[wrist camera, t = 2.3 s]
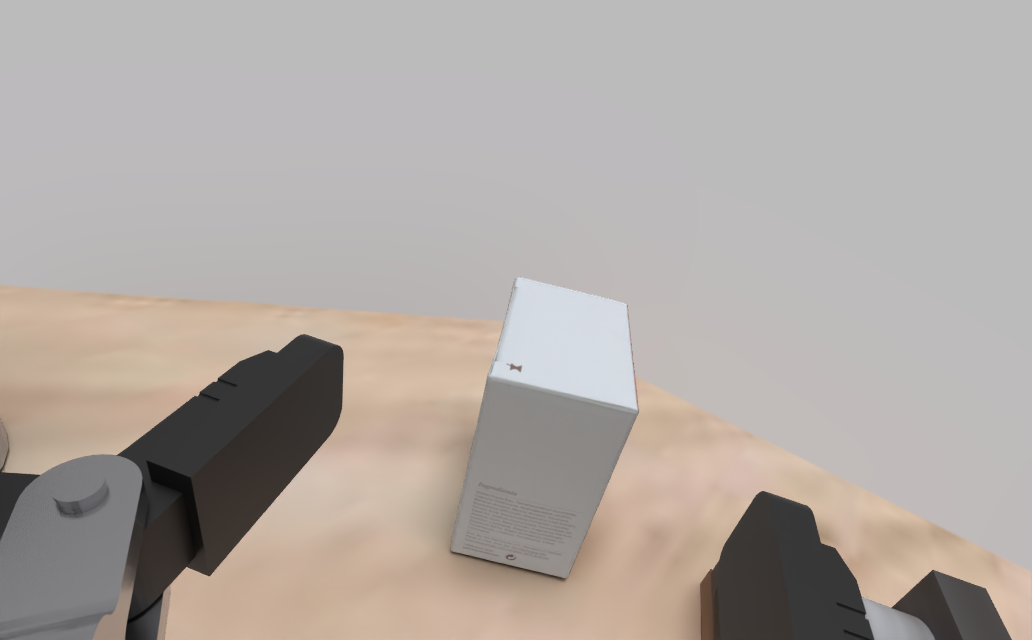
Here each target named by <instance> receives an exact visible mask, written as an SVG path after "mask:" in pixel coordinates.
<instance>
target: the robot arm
mask: <svg viewBox="0 0 1032 640" xmlns="http://www.w3.org/2000/svg"><path fill="white" fill-rule="evenodd" d="M343 359H344V356H343V350H342V348H341V347H340V346H338V345H335V344H332V343H329V342H326V341H324V340H321V339H318V338H315V337H312V336H309V335H305V334H303V335H300V336H298V337H296V338H295V339H294V340H292V341H291V342H290V343H289V344H288V345H286V346H285V347H284V348H283V349H281V350H280V351H279V352H278V353H275V352H272V351H269V350H268V351H265V352H263V353H260V354H257V355H255V356H252V357H250V358H247V359H245V360H242V361H240V362H239V363H237V364H236V365H235V366H233V367H232V368H231V369H229V370H228V371H227V372H225V373H224V374H223V375H222V376H220V377H219V378H218V381H217V382H212V383H211V384H210V385H209V386H207V387H206V388H205V389H203V390H202V391H201V392H200V394H199V396H198V397H197V396H194V397H193V398H192V399H190V400H189V401H188V402H186V403H185V404H184V405H182V406H181V407H180V408H179V409H177V410H176V411H175V412H173V413H172V414H171V415H169V416H168V417H167V418H166V419H164V420H163V421H162V422H160V423H159V424H158V425H156V426H155V427H154V428H152V429H151V430H150V431H149V432H147V433H146V434H145V435H143V436H142V437H141V438H139V439H138V440H137V441H136V442H134V443H133V444H132V445H130V446H129V447H128V448H126V449H125V450H124V451H122V452H121V453H119V454H118V455H91V456H85V457H81V458H77V459H73V460H70V461H68V462H65V463H62V464H60V465H58V466H56V467H54V468H52V469H50V470H48V471H46V472H45V473H43V474H42V475H34V474H19V473H3V472H0V640H165V633H166V625H167V617H168V609H169V602H170V594H171V587H170V584H171V583H172V582H173V581H174V580H175V579H176V578H177V576H178V575H179V574H180V573H181V572H182V571H183V570H184V569H185V568H186V567H188V568H190V569H193V570H195V571H198V572H200V573H202V574H205V575H207V576H210V575H211V574H212V573H213V572H214V571H215V569H216V568H217V567H218V566H219V565H220V564H221V562H222V561H223V560H224V559H225V558H226V557H227V555H228V554H229V553H230V552H231V551H232V550H233V548H234V547H235V546H236V545H237V544H238V543H239V541H240V540H241V539H242V538H243V537H244V536H245V534H246V533H247V532H248V531H249V530H250V529H251V527H252V526H253V525H254V524H255V523H256V521H257V520H258V519H259V518H260V517H261V516H262V514H263V513H264V512H265V511H266V510H267V509H268V507H269V506H270V505H271V504H272V503H273V502H274V500H275V499H276V498H277V497H278V496H279V495H280V493H281V492H282V491H283V490H284V489H285V488H286V486H287V485H288V484H289V483H290V482H291V481H292V479H293V478H294V477H295V476H296V475H297V474H298V472H299V471H300V470H301V469H302V468H303V467H304V465H305V464H306V463H307V462H308V461H309V459H310V458H311V457H312V456H313V455H314V454H315V452H316V451H317V450H318V449H319V448H320V447H321V445H322V444H323V443H324V442H325V441H326V440H327V438H328V437H329V436H330V435H331V433H332V432H333V430H334V428H335V427H336V424H337V422H338V420H339V417H340V414H341V410H342V395H343ZM7 452H8V438H7V433H6V430H5V428H4V426H3V424H2V421H1V419H0V470H1V468H2V466H3V465H4V461H5V458H6V455H7ZM717 584H718V602H719V619H720V637H721V640H875V639H874V636H873V633H872V630H871V626H870V623H869V620H868V619H866V618H865V615H866V610H865V607H864V603H863V600H862V597H861V593H860V590H859V587H858V584H857V580H856V579H855V577H854V576H853V574H852V573H851V571H850V570H849V568H848V567H847V565H846V564H845V562H844V561H843V559H842V558H841V556H840V555H839V553H838V552H837V550H836V549H835V548H833V547H830V546H828V545H825V544H822V543H821V542H820V538H819V534H818V530H817V526H816V522H815V518H814V515H813V512H812V510H811V509H810V508H809V507H808V506H806V505H803V504H800V503H798V502H795V501H792V500H789V499H786V498H783V497H780V496H777V495H774V494H771V493H768V492H765V491H762V492H760V493H758V494H757V495H756V497H755V498H754V499H753V501H752V502H751V504H750V506H749V507H748V509H747V510H746V512H745V513H744V515H743V516H742V518H741V520H740V521H739V523H738V524H737V526H736V527H735V529H734V530H733V532H732V534H731V535H730V537H729V538H728V540H727V541H726V543H725V545H724V547H723V550H722V552H721V556H720V560H719V565H718V572H717Z"/></svg>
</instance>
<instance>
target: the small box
mask: <svg viewBox="0 0 1032 640" xmlns="http://www.w3.org/2000/svg"><path fill="white" fill-rule="evenodd" d="M638 413H639V408H638V400H637V389H636V381H635V371H634V363H633V353H632V344H631V335H630V325H629V315H628V305H627V304H626V303H622V302H618V301H615V300H611V299H607V298H603V297H599V296H595V295H591V294H587V293H583V292H579V291H575V290H571V289H567V288H562V287H558V286H554V285H550V284H546V283H542V282H538V281H534V280H530V279H526V278H521V277H517V278H516V279H515V280H514V283H513V287H512V292H511V296H510V301H509V305H508V309H507V313H506V317H505V321H504V325H503V328H502V332H501V336H500V339H499V343H498V347H497V350H496V353H495V356H494V359H493V362H492V365H491V368H490V371H489V373H488V376H487V381H486V385H485V390H484V395H483V399H482V404H481V408H480V413H479V417H478V422H477V426H476V431H475V435H474V440H473V444H472V448H471V453H470V458H469V462H468V467H467V471H466V476H465V480H464V485H463V490H462V494H461V499H460V504H459V509H458V513H457V518H456V523H455V528H454V533H453V538H452V543H451V551H453V552H457V553H461V554H465V555H470V556H474V557H478V558H482V559H486V560H491V561H495V562H499V563H504V564H508V565H512V566H516V567H520V568H525V569H529V570H533V571H537V572H542V573H546V574H550V575H554V576H558V577H562V578H567V577H568V575H569V573H570V571H571V568H572V566H573V564H574V561H575V559H576V557H577V555H578V553H579V550H580V548H581V545H582V543H583V541H584V538H585V536H586V534H587V532H588V529H589V527H590V524H591V522H592V519H593V517H594V515H595V513H596V510H597V508H598V506H599V503H600V501H601V499H602V496H603V494H604V492H605V489H606V487H607V485H608V482H609V480H610V478H611V475H612V473H613V471H614V468H615V466H616V464H617V461H618V459H619V456H620V454H621V452H622V449H623V447H624V445H625V443H626V440H627V438H628V436H629V433H630V431H631V429H632V426H633V424H634V422H635V419H636V417H637V415H638Z"/></svg>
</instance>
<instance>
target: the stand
mask: <svg viewBox="0 0 1032 640" xmlns="http://www.w3.org/2000/svg"><path fill="white" fill-rule="evenodd" d="M718 565H719V562H718V563H717V565H716V566H715V568H714V569H713V570H712V569H710V571H709V572H708V574H707V575H706V576H705V578H704V579H703V581H702V582H701V631H702V640H721V637H720V619H719V602H718V584H717V572H718ZM862 600H863V603H864V607H865V610H866V615H865V618H866V619H868V620H869V623H870V626H871V630H872V633H873V636H874V639H875V640H1012V639H1011V637H1010V635H1009V633H1008V631H1007V629H1006V628H1005V626H1004V624H1003V622H1002V620H1001V618H1000V616H999V614H998V612H997V610H996V608H995V606H994V604H993V602H992V600H991V598H990V596H989V594H988V592H987V590H986V589H985V588H982V587H980V586H977V585H974V584H971V583H968V582H965V581H963V580H960V579H957V578H954V577H951V576H949V575H946V574H943V573H940V572H937V571H935V570H932V571H931V572H930V573H929V574H928V575H927V576H926V577H924V578H923V579H922V580H921V581H920V582H919V583H918V584H917V585H916V586H915V587H914V588H912V589H911V590H910V591H909V592H908V593H907V594H906V595H905V596H904V597H903V598H902V599H901V600H899V601H898V602H897V603H896V604H895V605H894V606H893V607H892V608H890V607H887V606H885V605H882V604H879V603H876V602H874V601H871V600H868V599H866V598H863V597H862Z"/></svg>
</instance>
